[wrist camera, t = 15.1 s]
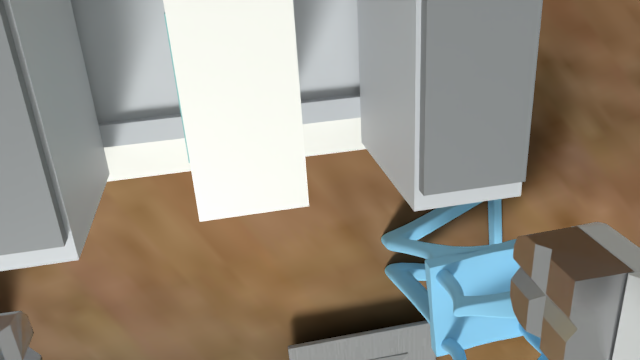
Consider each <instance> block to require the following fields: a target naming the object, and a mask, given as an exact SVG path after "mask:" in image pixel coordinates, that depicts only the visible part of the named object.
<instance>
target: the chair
mask: <svg viewBox="0 0 640 360" xmlns="http://www.w3.org/2000/svg"><path fill="white" fill-rule="evenodd" d="M480 203H481V202H476V203H469V204H462V205H455V206H448V207H441V208H436V209H434V210H432V211H431V212H429V213H427V214H425V215H423V216H421V217H419V218H418V219H416V220H414V221H412V222H410V223H408V224H406V225H404V226H402V227H400V228H397V229H395V230H393V231H390V232H388V233H386V234H384V235H383V236H382V238H381V241H382V243H383V244H384V245H385V247H386V248H387V249H389V250H391V251H395V252H400V253H405V254H410V255H414V256H418V257H422V258H425V259H427V260H425V264H422V263H394V264H390V265H388V266H387V267H386V268H385V273H386V275H387V276H388V277H389V278H390V280H391V281H392V282H393V283H394V284H395V285H396V286H397V287H398V288H399V289H400V290H401V291H402V292H403V294H404V295H405V296H406V297H407V298H408V299H409V300H410V301H411V302H412V303H413V305H414V306H415V307H416V308H417V309H418V310H419V312H420V313H421V314H422V315H423V316H424V317H425V319H426V320H427V321H428V323H429V324H430V334H431V347H432V349H433V351H434V353H435V355H436V357H439V356H443V355H447V354H450V355H451V356H452V358H453V360H467V359H466V355H465V352H464V350H465V349H468V348H471V347H474V346H478V345H482V344H486V343H490V342H494V341H498V340H504V339H509V338H515V337H519V336H524V337H525V339H526V340H527V341H528V342H529V343H530V344H531V345H532V346H533V347H534V348H535V349H536V350H537V351H538V352H540V353H541V354H542V355H541V356H540V357H539V358H538V359H537V360H548V358H547V357H546V356H545V355H544V353H543V352H542V351H541V350H540V340H541V338H539V337H537V336H535V335H533V334H531V333H528V332H526V331H525V330H524V328H523V327H522V326H521V324H520V323H519V322H518V320H517V318H516V316H515V314H514V311H513V308H512V303H511V298H510V284H511V278H512V277H513V276H514V274H515V273H516V272H517V270H518V269H519V268H520V267H519V265H518V264H517V263H516V261H515V260H514V259H513V250H514V244H515V242H516V239H514V240H509V241H506V242H503V243H502V208H501V199H497V200H490V201H488V221H489V245H483V246H472V247H458V246H447V245H439V244H433V243H426V242H421V241H417V240H418V239H420V238H422V237H424V236H425V235H427V234H429V233H431V232H432V231H434V230H436V229H438V228H439V227H441V226H443V225H444V224H446V223H448V222H449V221H451V220H453V219H454V218H456V217H458V216H459V215H461V214H463V213H465V212H466V211H468V210H470V209H471V208H473V207H475V206H476V205H478V204H480ZM419 281H426V283H427V290H426V289H425V288H424V287H423V286H422V285H421V284H420V283H419Z"/></svg>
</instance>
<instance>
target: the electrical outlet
mask: <svg viewBox="0 0 640 360" xmlns="http://www.w3.org/2000/svg"><path fill="white" fill-rule="evenodd" d="M288 352H289V360H436V355H435V353H434V351H433V349H432V347H431V334H430V324H429V323H428V321H427V320H424V321H419V322H414V323H408V324H403V325H398V326H392V327H387V328H382V329H376V330H371V331H366V332H360V333H355V334H350V335H344V336H339V337H333V338H328V339H323V340H317V341H312V342H306V343H301V344H295V345H290V346H288Z"/></svg>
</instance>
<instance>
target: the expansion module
mask: <svg viewBox="0 0 640 360" xmlns="http://www.w3.org/2000/svg"><path fill="white" fill-rule="evenodd" d="M163 3H164V9H165V13H164V17H165V23H166V29H167V35H168V41H169V47H170V53H171V59H172V65H173V71H174V77H175V83H176V89H177V95H178V101H179V107H180V113H181V119H182V125H183V131H184V137H185V143H186V149H187V155H188V161H189V163H190V166H191V172H192V178H193V184H194V190H195V196H196V202H197V208H198V214H199V220H200V222H201V221H208V220H215V219H222V218H229V217H236V216H243V215H250V214H257V213H264V212H271V211H278V210H285V209H292V208H299V207H306V206H309V200H308V187H307V175H306V162H305V149H304V136H303V123H302V110H301V97H300V84H299V71H298V58H297V45H296V32H295V20H294V7H293V0H163Z"/></svg>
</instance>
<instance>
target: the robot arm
mask: <svg viewBox="0 0 640 360" xmlns="http://www.w3.org/2000/svg"><path fill="white" fill-rule="evenodd" d="M513 259H514V260H515V261H516V263H517V264H518V265H519V267H520V268H519V269H518V270H517V272H516V273H515V274H514V276H513V277H512V278H511V284H510V298H511V303H512V308H513V311H514V314H515V316H516V318H517V320H518V322H519V323H520V324H521V326H522V327H523V328H524V330H525V331H526V332H528V333H531V334H533V335H535V336H537V337H539V338H541V340H540V350H541V351H542V352H543V353H544V355H545V356H546V357H547V358H548V360H640V248H639V247H637V246H636V245H635V244H633V243H632V242H631V241H629V240H628V239H626V238H625V237H624V236H622V235H621V234H620V233H618V232H617V231H615V230H614V229H613V228H611V227H610V226H609V225H607V224H605V223H601V222H594V223H589V224H584V225H578V226H573V227H569V228H563V229H558V230H552V231H546V232H541V233H535V234H529V235H524V236H518V237H517V239H516V242H515V244H514V250H513ZM33 334H34V332H33V329H32V326H31V324H30V321H29V318H28V316H27V315H26V314H25V313H23V312H22V311H15V312H7V313H0V360H42V356H41V355H40V354H38V353H37V352H35V351H34V350H32V349H31V348H29V347H28V346H29V344H30V341H31V339H32V336H33Z"/></svg>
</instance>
